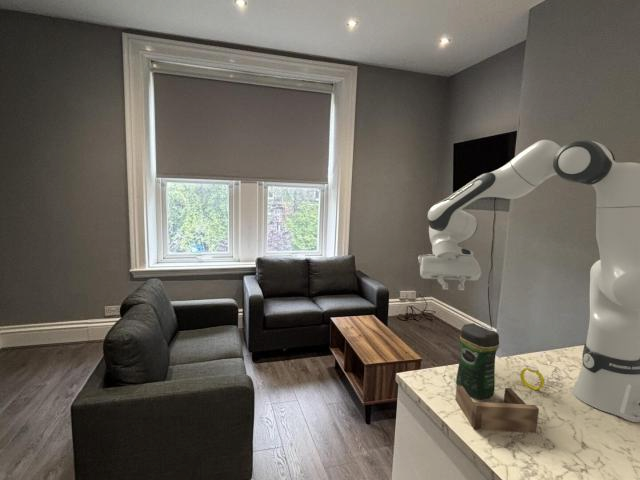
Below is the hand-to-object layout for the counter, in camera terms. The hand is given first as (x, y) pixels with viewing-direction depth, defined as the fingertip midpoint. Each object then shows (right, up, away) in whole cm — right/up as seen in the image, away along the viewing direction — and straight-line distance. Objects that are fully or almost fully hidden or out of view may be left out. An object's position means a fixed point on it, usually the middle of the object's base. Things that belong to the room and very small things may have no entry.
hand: (453, 289), depth 114 cm
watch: (+16, -26, -16) cm, 35 cm away
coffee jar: (-1, -26, -18) cm, 32 cm away
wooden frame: (-2, -27, -28) cm, 39 cm away
